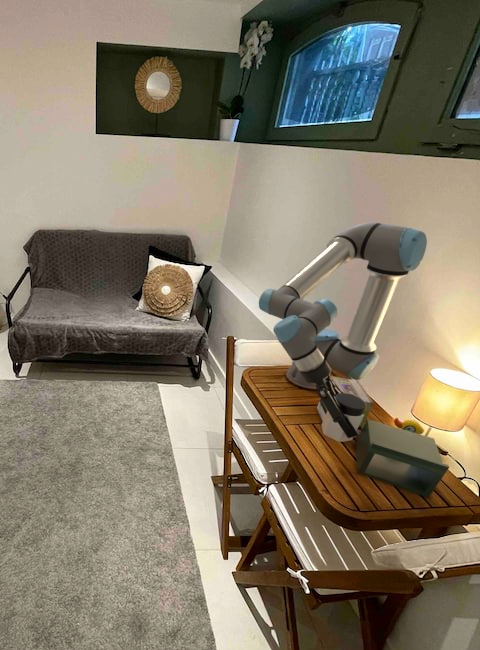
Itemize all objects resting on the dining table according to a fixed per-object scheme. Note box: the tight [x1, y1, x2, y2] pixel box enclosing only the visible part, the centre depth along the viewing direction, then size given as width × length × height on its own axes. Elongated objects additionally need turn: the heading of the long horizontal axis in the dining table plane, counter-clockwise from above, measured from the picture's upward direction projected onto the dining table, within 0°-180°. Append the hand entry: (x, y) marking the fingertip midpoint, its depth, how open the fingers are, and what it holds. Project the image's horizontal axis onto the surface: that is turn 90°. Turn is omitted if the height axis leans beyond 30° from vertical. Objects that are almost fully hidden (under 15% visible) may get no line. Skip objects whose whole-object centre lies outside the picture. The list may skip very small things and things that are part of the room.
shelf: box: [354, 418, 450, 498], centre depth 113 cm, size 16×18×12 cm
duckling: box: [393, 417, 425, 435], centre depth 123 cm, size 11×5×10 cm, turn 47°
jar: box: [321, 393, 366, 443], centre depth 111 cm, size 9×8×12 cm
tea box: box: [316, 375, 375, 438], centre depth 131 cm, size 15×10×15 cm, turn 168°
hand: (352, 426), depth 111 cm, fingers closed on jar, 9 cm apart
